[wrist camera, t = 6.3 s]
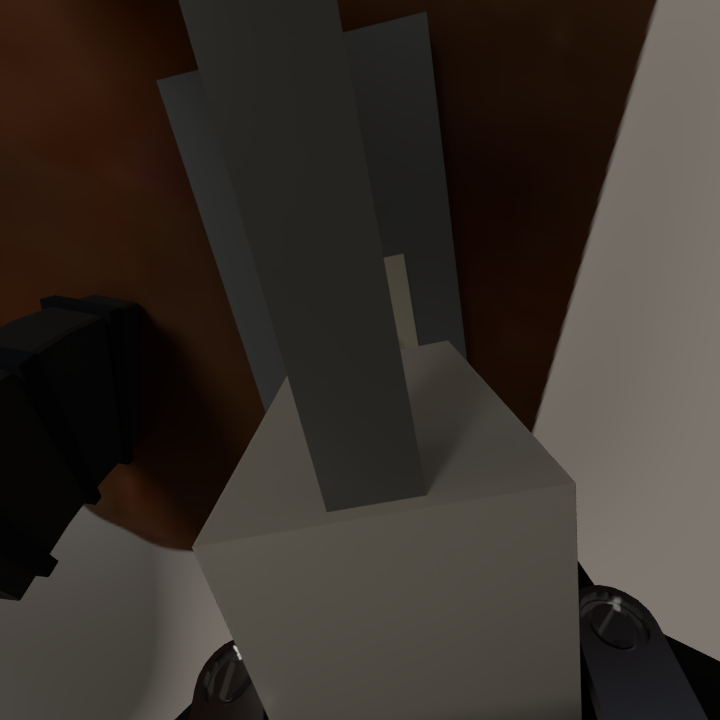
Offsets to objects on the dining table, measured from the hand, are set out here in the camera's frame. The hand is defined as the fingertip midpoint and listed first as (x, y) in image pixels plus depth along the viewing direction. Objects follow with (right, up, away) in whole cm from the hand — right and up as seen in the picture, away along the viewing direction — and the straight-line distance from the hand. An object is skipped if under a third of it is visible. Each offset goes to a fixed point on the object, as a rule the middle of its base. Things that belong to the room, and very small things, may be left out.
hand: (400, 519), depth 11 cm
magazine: (-18, +3, +15) cm, 24 cm away
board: (-2, +10, +12) cm, 16 cm away
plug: (-1, +3, 0) cm, 3 cm away
